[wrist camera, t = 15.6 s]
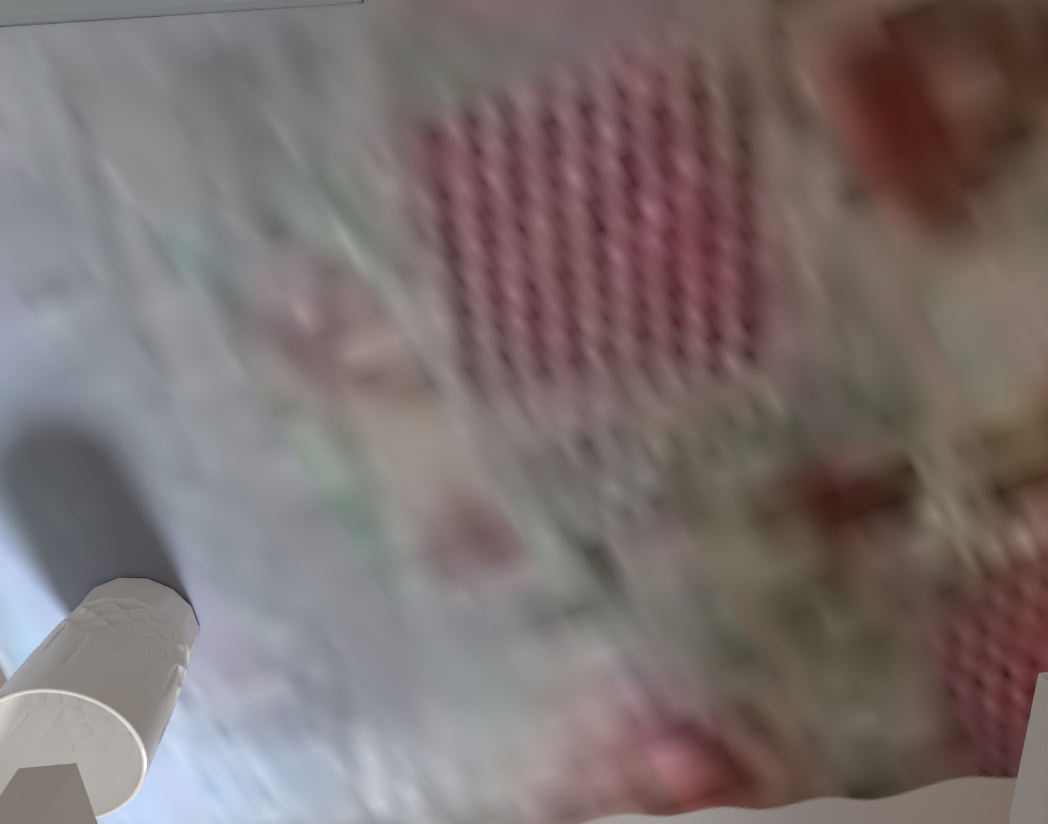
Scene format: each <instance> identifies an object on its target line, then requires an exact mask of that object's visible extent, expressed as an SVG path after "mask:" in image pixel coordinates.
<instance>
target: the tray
mask: <svg viewBox="0 0 1048 824" xmlns="http://www.w3.org/2000/svg"><path fill="white" fill-rule="evenodd" d="M354 3H364V0H0V27H11V26H25V25H40V24H55V23H70V22H85V21H100V20H115V19H130V18H145V17H160V16H175V15H190V14H205V13H220V12H235V11H250V10H265V9H279V8H294V7H309V6H324V5H339V4H354Z"/></svg>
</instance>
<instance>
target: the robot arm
mask: <svg viewBox="0 0 1048 824" xmlns="http://www.w3.org/2000/svg"><path fill="white" fill-rule="evenodd" d="M1009 823H1010V824H1048V672H1046V673H1039V674H1038V679H1037V684H1036V689H1035V694H1034V699H1033V704H1032V709H1031V714H1030V719H1029V724H1028V728H1027V733H1026V738H1025V743H1024V748H1023V753H1022V758H1021V763H1020V768H1019V773H1018V778H1017V782H1016V788H1015V792H1014V797H1013V802H1012V807H1011V812H1010V817H1009ZM0 824H97V821H96V818H95V815H94V812H93V809H92V806H91V803H90V800H89V797H88V794H87V792H86V789H85V786H84V783H83V780H82V777H81V774H80V771H79V768H78V765H77V763H70V764H60V765H49V766H38V767H27V768H18V770H17V771H16V773H15V774H14V776H13V777H12V779H11V780H10V782H9V783H8V785H7V786H6V788H5V789H4V791H3V792H2V794H1V795H0Z"/></svg>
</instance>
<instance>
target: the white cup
mask: <svg viewBox="0 0 1048 824" xmlns="http://www.w3.org/2000/svg"><path fill="white" fill-rule="evenodd" d="M199 630H200V628H199V625H198V623H197V620H196V617H195V615H194V612H193V609H192V607H191V606H190V605H189V604H188V603H187V602H186V601H185V600H184V599H183V598H182V597H181V596H180V595H179V594H178V593H177V592H176V591H174V590H173V589H172V588H170V587H167V586H165V585H162V584H160V583H157V582H155V581H152V580H150V579H147V578H117V579H114V580H112V581H109V582H107V583H104V584H102V585H99V586H97V587H94V588H93V589H92V590H91V592H90V593H89V594H88V595H87V596H86V597H85V599H84V600H83V601H82V602H81V603H80V605H79V606H78V607H77V608H76V609H75V610H74V611H73V612H72V613H71V614H70V615H69V616H68V617H67V618H66V619H64V620H63V621H61V622H60V623H59V624H58V625H57V627H56V628H55V629H54V630H53V631H52V632H51V633H50V634H49V635H48V636H47V637H46V638H45V639H44V640H43V642H42V643H41V644H40V645H39V646H38V647H37V648H36V649H35V650H34V651H33V652H32V653H31V654H30V655H29V656H28V658H27V659H26V660H25V661H24V663H23V664H22V665H21V666H20V667H19V668H18V670H17V671H16V672H15V673H14V674H13V675H12V676H11V678H10V679H9V680H8V681H7V682H6V683H5V685H4V686H3V687H2V688H1V689H0V795H1V794H2V792H3V791H4V789H5V788H6V786H7V785H8V783H9V782H10V780H11V779H12V777H13V776H14V774H15V773H16V771H17V770H18V768H27V767H38V766H49V765H60V764H70V763H77V765H78V768H79V771H80V774H81V777H82V780H83V783H84V786H85V789H86V792H87V794H88V797H89V800H90V803H91V806H92V809H93V812H94V815H95V818H96V819H97V818H101V817H104V816H107V815H109V814H112V813H114V812H116V811H118V810H119V809H121V808H122V807H124V806H125V805H127V804H128V803H129V802H130V801H131V800H132V799H133V798H134V797H135V796H136V795H137V793H138V792H139V791H140V789H141V787H142V785H143V783H144V781H145V778H146V776H147V773H148V771H149V769H150V766H151V764H152V761H153V759H154V756H155V754H156V752H157V749H158V747H159V744H160V742H161V740H162V737H163V735H164V732H165V730H166V728H167V725H168V723H169V721H170V718H171V716H172V713H173V710H174V707H175V705H176V702H177V699H178V697H179V694H180V692H181V689H182V687H183V684H184V681H185V679H186V675H187V672H188V668H189V665H190V663H191V661H192V658H193V656H194V654H195V651H196V646H197V641H198V635H199Z"/></svg>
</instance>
